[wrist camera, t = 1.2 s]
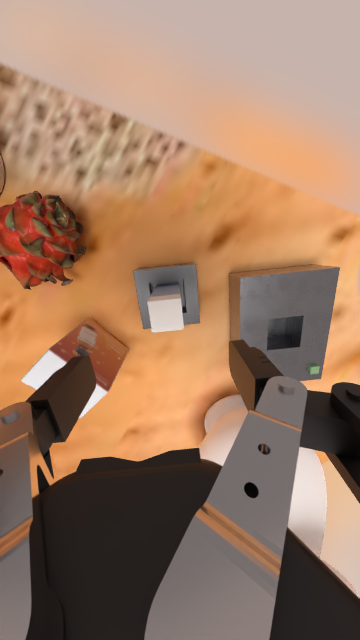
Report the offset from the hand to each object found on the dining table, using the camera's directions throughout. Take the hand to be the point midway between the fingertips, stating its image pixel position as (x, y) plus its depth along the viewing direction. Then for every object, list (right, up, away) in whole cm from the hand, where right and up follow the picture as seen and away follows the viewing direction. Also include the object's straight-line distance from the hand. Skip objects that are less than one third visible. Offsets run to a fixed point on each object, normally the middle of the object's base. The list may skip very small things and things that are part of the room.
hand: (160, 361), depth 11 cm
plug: (-1, +6, +17) cm, 18 cm away
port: (+15, +2, +20) cm, 25 cm away
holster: (-1, +6, +18) cm, 19 cm away
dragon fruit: (-15, +12, +15) cm, 25 cm away
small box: (-12, -1, +20) cm, 24 cm away
